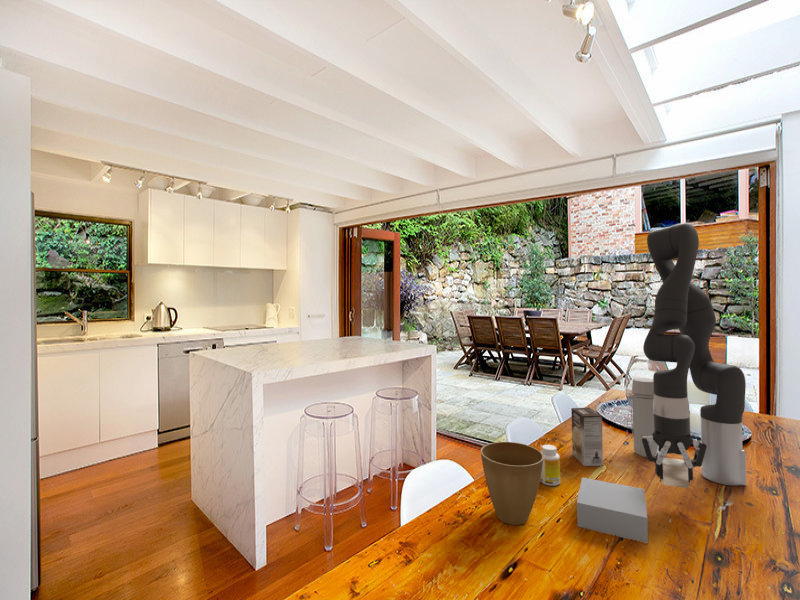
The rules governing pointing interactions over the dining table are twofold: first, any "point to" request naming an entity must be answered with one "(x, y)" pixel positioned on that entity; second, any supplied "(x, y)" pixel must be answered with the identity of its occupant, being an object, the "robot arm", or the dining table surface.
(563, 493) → the dining table surface
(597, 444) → the coffee box
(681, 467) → the cream cube
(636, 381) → the water bottle
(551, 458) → the supplement bottle
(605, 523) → the slate block
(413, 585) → the dining table surface
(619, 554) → the dining table surface
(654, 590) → the dining table surface
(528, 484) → the plant pot
